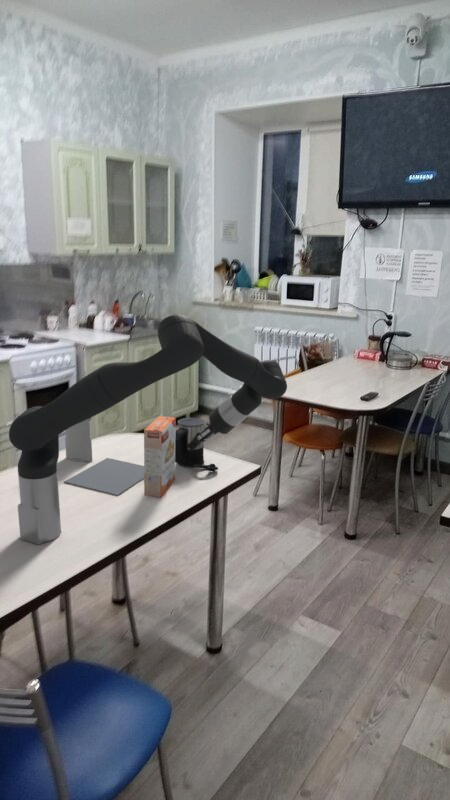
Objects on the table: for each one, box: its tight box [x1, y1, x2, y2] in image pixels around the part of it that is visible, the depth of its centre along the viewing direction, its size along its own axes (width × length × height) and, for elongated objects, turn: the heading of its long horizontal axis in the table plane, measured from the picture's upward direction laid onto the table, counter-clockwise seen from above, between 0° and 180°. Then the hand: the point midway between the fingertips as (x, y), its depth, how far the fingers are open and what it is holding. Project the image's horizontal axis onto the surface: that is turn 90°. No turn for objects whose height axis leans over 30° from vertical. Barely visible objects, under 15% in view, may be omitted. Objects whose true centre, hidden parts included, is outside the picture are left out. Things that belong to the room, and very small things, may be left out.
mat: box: [63, 457, 144, 497], centre depth 181 cm, size 22×20×1 cm
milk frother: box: [175, 417, 219, 473], centre depth 188 cm, size 14×16×15 cm
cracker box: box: [143, 415, 177, 498], centre depth 170 cm, size 14×6×21 cm, turn 168°
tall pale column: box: [64, 417, 93, 463], centre depth 190 cm, size 11×4×22 cm, turn 75°
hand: (190, 447), depth 166 cm, fingers closed
